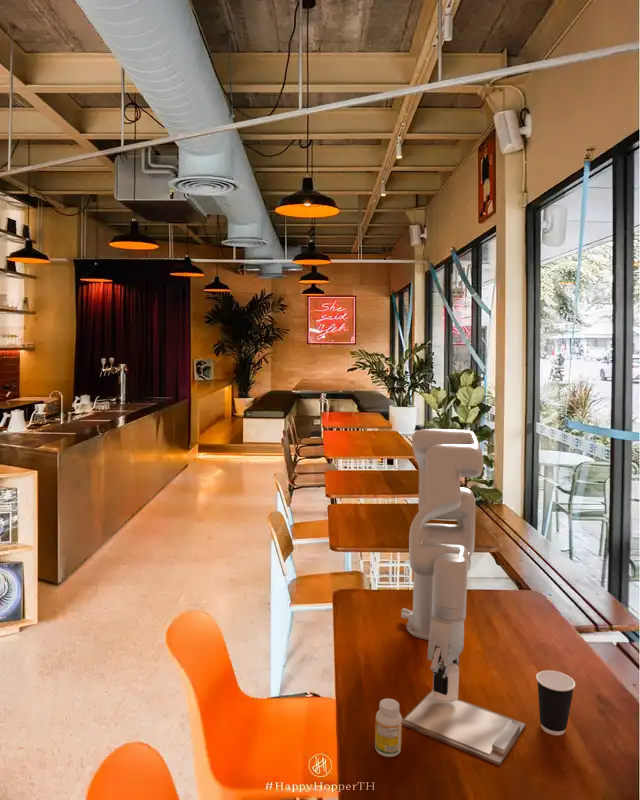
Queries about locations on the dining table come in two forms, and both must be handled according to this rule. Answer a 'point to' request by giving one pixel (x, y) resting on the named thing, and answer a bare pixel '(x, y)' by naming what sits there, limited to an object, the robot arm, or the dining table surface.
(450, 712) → the clipboard
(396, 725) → the supplement bottle
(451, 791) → the dining table surface
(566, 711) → the dixie cup
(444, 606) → the robot arm
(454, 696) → the eye dropper bottle
